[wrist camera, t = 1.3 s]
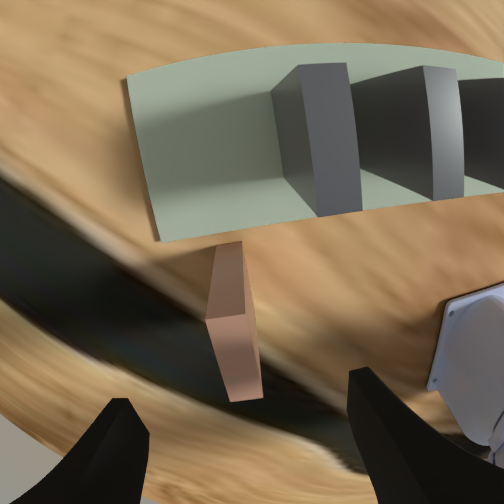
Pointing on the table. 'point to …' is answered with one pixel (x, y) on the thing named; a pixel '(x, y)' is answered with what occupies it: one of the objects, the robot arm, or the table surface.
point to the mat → (253, 133)
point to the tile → (234, 323)
